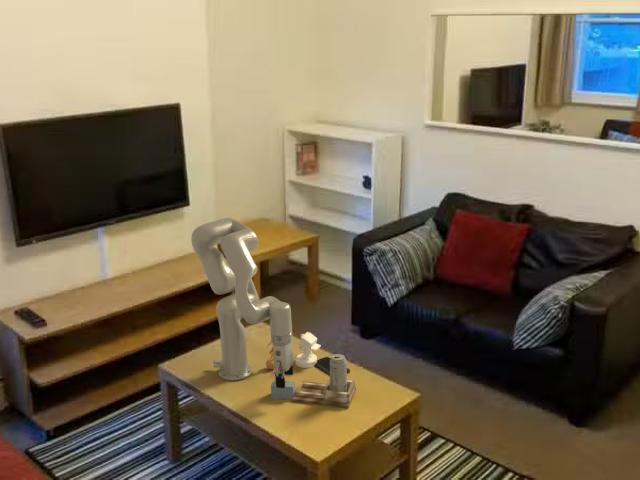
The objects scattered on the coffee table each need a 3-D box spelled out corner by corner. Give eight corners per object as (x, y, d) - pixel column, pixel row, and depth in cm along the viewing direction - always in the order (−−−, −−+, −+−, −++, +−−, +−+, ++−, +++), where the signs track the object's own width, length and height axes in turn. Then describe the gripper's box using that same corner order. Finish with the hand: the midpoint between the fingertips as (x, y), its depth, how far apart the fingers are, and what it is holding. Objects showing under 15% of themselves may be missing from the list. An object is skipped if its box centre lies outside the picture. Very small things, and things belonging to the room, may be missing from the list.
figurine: (260, 366, 277) (259, 338, 273) (273, 361, 280) (272, 334, 276) (272, 374, 270) (271, 346, 267) (285, 369, 274) (284, 341, 270)
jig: (292, 401, 252) (291, 390, 250) (302, 383, 263) (301, 372, 262) (348, 408, 247) (348, 396, 245) (355, 389, 259) (355, 378, 257)
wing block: (271, 398, 254) (270, 386, 252) (273, 392, 258) (272, 380, 256) (293, 399, 253) (293, 387, 252) (295, 393, 257) (294, 381, 255)
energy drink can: (349, 397, 252) (349, 359, 247) (333, 400, 250) (332, 362, 245) (343, 389, 257) (343, 352, 252) (328, 391, 255) (327, 354, 251)
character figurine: (301, 355, 284) (301, 328, 281) (323, 360, 281) (322, 332, 277) (291, 365, 277) (291, 337, 273) (313, 370, 273) (313, 342, 269)
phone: (327, 356, 282) (351, 370, 271) (327, 358, 283) (351, 372, 271) (311, 362, 278) (335, 376, 266) (311, 364, 278) (335, 379, 267)
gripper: (284, 348, 239) (287, 393, 244) (298, 327, 255) (301, 370, 260) (263, 346, 241) (267, 391, 246) (279, 326, 257) (282, 369, 262)
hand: (284, 380), depth 253 cm, fingers open, 9 cm apart
